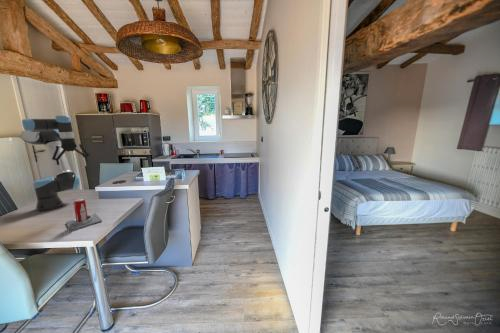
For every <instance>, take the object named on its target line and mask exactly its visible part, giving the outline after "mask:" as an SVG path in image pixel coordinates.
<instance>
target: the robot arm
mask: <svg viewBox="0 0 500 333" xmlns="http://www.w3.org/2000/svg"><path fill="white" fill-rule="evenodd" d="M21 124H22V128H23V130H22V131H21V133H20V138H21V140H22V141H24V142H25V143H28V144H31V145H36V146H37V145H44V147H45V148H47V149H48V150H49V152H50V153H49V154H50V156H51V159H52V161H53V164H54V167H55V171H56V173H57V174H56V175H55V177H54V176H46V177H42V178H39V179H36V180H35V181H34V182H33V189H34V193H35V196H36V205H35V208H36V211H37V212H45V211H52V210H54V209H58V208H60V207H62V206H63V205H64V202H63V200H62V199H61V198H60V197H59V194H58V193H62V192H66V191H70V190H74V189H78V188H79V187H80V175H79V174H76V173H75V172H74V171H72V169H71V166H70V163H69V162H68V158H67V156H66V152H74V151H75V152H77V153H78V154H80V155H81V156H82V161H83V166H85V167H87V162H88V158H87V157H89V156H90V154H89V153H88V151H87V150H85V149H84V147H83V145H82V144H81V143H78V144H76V141H75V135H74V131H73V126H72V125H73V124H72V120H71V117H70V116H69V115H55V118H23V119H22V120H21ZM77 147H78V148H80V150H81V151H82V152H83V153H82V152H81V151H80V150H79V149H77Z"/></svg>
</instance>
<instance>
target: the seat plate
mask: <svg viewBox="0 0 500 333" xmlns="http://www.w3.org/2000/svg"><path fill="white" fill-rule="evenodd" d="M91 215H93V216H94V220H93V221H91V222H89V223H86V224H83V225H74V224H73V220H74V219H71V220H68V221H65V224H66V226H67V228H68V230H69V232H73V231H77V230H80V229H83V228H86V227H89V226H93V225H96V224H99V223H102V222H103V220H102V219H101V218H100V217H99V215H98V214H97V213H93V214H91ZM88 219H89V218H88Z"/></svg>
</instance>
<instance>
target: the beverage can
mask: <svg viewBox="0 0 500 333" xmlns="http://www.w3.org/2000/svg"><path fill="white" fill-rule="evenodd" d="M73 207H74V213H75V219H76V221H84V220H87V219H88V217H87V215H88V211H87V203H86V200H85V198H76V199H75V200H73Z"/></svg>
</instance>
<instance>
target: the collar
mask: <svg viewBox="0 0 500 333" xmlns="http://www.w3.org/2000/svg"><path fill="white" fill-rule="evenodd" d="M87 217H88V218H89V219H87V220H84V221H76V218H74V219H72V220H73V224H74V225H83V224H86V223H89V222H91V221H93V220H94V216H93V215H92V214H87Z"/></svg>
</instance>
